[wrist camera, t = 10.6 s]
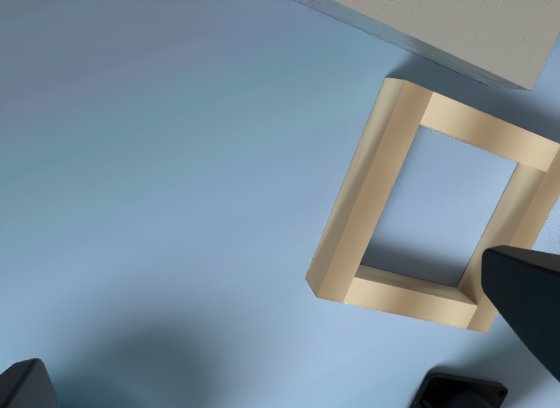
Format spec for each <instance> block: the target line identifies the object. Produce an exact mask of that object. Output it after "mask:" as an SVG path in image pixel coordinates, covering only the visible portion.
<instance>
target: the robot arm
mask: <svg viewBox="0 0 560 408" xmlns="http://www.w3.org/2000/svg"><path fill="white" fill-rule="evenodd" d="M481 287H482V290H483V292H484V293H485V295H486V296H487V297H488V299H489V300H490V301H491V303H492V304H493V305H494V306H495V308H496V309H497V310H498V312H499V313H500V314H501V315H502V317H503V318H504V319H505V321H506V322H507V323H508V324H509V326H510V327H511V328H512V329H513V331H514V332H515V333H516V335H517V336H518V337H519V338H520V340H521V341H522V342H523V343H524V345H525V346H526V347H527V348H528V349H529V350H530V352H531V353H532V354H533V355H534V356H535V357H536V358H537V359H538V360H539V361H540V362H541V363H542V364H543V366H544V367H545V368H546V369H547V370H548V371H549V372H550V373H551V374H552V375H553V376H554V377H555V378H556V379H557V380H558V381H559V382H560V255H556V254H551V253H546V252H540V251H535V250H529V249H524V248H518V247H513V246H508V245H498V246H494V247H490V248H486V249H485V250H484V251H483V253H482V260H481ZM507 393H508V390H507V388H506V387H505V386H504V385H503V384H501V383H495V382H489V381H483V380H477V379H471V378H465V377H459V376H453V375H447V374H441V373H430V374H428V375H427V376H426V378H425V379H424V381H423V383H422V385H421V387H420V389H419V391H418V393H417V395H416V397H415V399H414V401H413V403H412V405H411V407H410V408H500V406H501V404H502V403H503V401H504V399H505V397H506V395H507ZM56 407H57V400H56V394H55V391H54V388H53V386H52V383H51V380H50V378H49V375H48V373H47V370H46V368H45V365H44V363H43V362H42V360H41V359H39V358H33V359H29V360H25V361H21V362H17V363H14V364H13V365H12V366H10V367H9V368H8V369H7V370H6V371H4V372H3V373H2V374H1V375H0V408H56Z"/></svg>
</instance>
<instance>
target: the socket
mask: <svg viewBox="0 0 560 408" xmlns="http://www.w3.org/2000/svg"><path fill="white" fill-rule="evenodd" d="M295 1H297V2H300V3H302V4H304V5H306V6H309V7H311V8H313V9H315V10H318V11H320V12H322V13H325V14H327V15H329V16H331V17H334V18H336V19H338V20H340V21H343V22H345V23H347V24H349V25H352V26H354V27H356V28H358V29H361V30H363V31H365V32H367V33H370V34H372V35H374V36H377V37H379V38H381V39H383V40H386V41H388V42H390V43H392V44H395V45H397V46H399V47H401V48H404V49H406V50H408V51H410V52H413V53H415V54H417V55H420V56H422V57H424V58H426V59H429V60H431V61H433V62H435V63H438V64H440V65H442V66H444V67H447V68H449V69H451V70H453V71H456V72H458V73H460V74H462V75H465V76H467V77H469V78H472V79H474V80H476V81H478V82H481V83H483V84H485V85H487V86H495V87H503V88H512V89H520V90H528V91H532V89H533V87H534V85H535V83H536V81H537V79H538V77H539V75H540V72H541V70H542V68H543V66H544V64H545V62H546V60H547V58H548V56H549V54H550V52H551V50H552V48H553V46H554V43H555V41H556V39H557V37H558V35H559V33H560V0H295Z"/></svg>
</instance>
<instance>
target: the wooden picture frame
mask: <svg viewBox="0 0 560 408" xmlns="http://www.w3.org/2000/svg"><path fill="white" fill-rule="evenodd" d="M419 125H421V126H423V127H426V128H429V129H431V130H434V131H436V132H439V133H442V134H444V135H447V136H450V137H452V138H455V139H457V140H460V141H463V142H465V143H468V144H471V145H473V146H476V147H478V148H481V149H484V150H486V151H489V152H492V153H494V154H497V155H499V156H502V157H505V158H507V159H510V160H513V161H515V162H518V165H517V167H516V169H515V171H514V173H513V175H512V177H511V179H510V181H509V183H508V185H507V187H506V189H505V191H504V193H503V195H502V197H501V199H500V201H499V203H498V205H497V207H496V209H495V211H494V213H493V215H492V217H491V219H490V221H489V224H488V226H487V228H486V230H485V232H484V234H483V236H482V238H481V240H480V242H479V244H478V246H477V248H476V250H475V252H474V254H473V256H472V258H471V260H470V262H469V264H468V266H467V268H466V270H465V272H464V274H463V276H462V278H461V280H460V282H459V284H458V286H457V288H454V287H450V286H446V285H442V284H438V283H434V282H430V281H425V280H421V279H417V278H413V277H409V276H405V275H401V274H397V273H393V272H389V271H385V270H381V269H376V268H372V267H368V266H364V265H360V262H361V260H362V257H363V255H364V253H365V250H366V248H367V246H368V243H369V241H370V239H371V236H372V234H373V232H374V229H375V227H376V225H377V222H378V220H379V218H380V215H381V213H382V211H383V208H384V206H385V204H386V201H387V199H388V197H389V194H390V192H391V190H392V187H393V185H394V183H395V180H396V178H397V176H398V173H399V171H400V169H401V166H402V164H403V162H404V159H405V157H406V155H407V152H408V150H409V148H410V145H411V143H412V141H413V138H414V136H415V134H416V131H417V129H418V127H419ZM559 195H560V144H558V143H556V142H554V141H551V140H549V139H546V138H544V137H542V136H539V135H537V134H534V133H532V132H530V131H527V130H525V129H522V128H520V127H518V126H515V125H513V124H510V123H508V122H506V121H503V120H501V119H498V118H496V117H494V116H491V115H489V114H486V113H484V112H481V111H479V110H477V109H474V108H472V107H469V106H467V105H465V104H462V103H460V102H457V101H455V100H453V99H450V98H448V97H445V96H443V95H441V94H438V93H436V92H433V91H431V90H429V89H426V88H424V87H421V86H419V85H416V84H414V83H412V82H409V81H407V80H401V79H394V78H387V77H385V80H384V82H383V85H382V87H381V90H380V92H379V95H378V97H377V100H376V102H375V105H374V107H373V110H372V112H371V115H370V117H369V120H368V122H367V125H366V127H365V130H364V132H363V135H362V137H361V140H360V142H359V145H358V147H357V150H356V152H355V155H354V157H353V160H352V162H351V165H350V167H349V170H348V172H347V175H346V177H345V180H344V182H343V185H342V187H341V190H340V192H339V195H338V197H337V200H336V202H335V205H334V207H333V210H332V212H331V215H330V217H329V220H328V222H327V225H326V227H325V230H324V232H323V235H322V237H321V240H320V242H319V245H318V247H317V250H316V252H315V255H314V257H313V260H312V262H311V265H310V267H309V270H308V272H307V275H306V277H305V279H306V281H307V282H308V284H309V286H310V287H311V289H312V291H313V292H314V294H315V296H316V297H317V298H321V299H326V300H331V301H336V302H341V303H345V304H350V305H355V306H360V307H364V308H369V309H374V310H379V311H383V312H388V313H393V314H398V315H403V316H407V317H412V318H417V319H422V320H426V321H431V322H436V323H441V324H445V325H450V326H455V327H460V328H464V329H469V330H474V331H479V332H484V333H487V331H488V330H489V328H490V326H491V324H492V322H493V320H494V318H495V316H496V314H497V312H498V310H497V309H496V308H495V306H494V305H493V304H492V303H491V301H490V300H489V299H488V297H487V296H486V295H485V293H484V292H483V290H482V287H481V260H482V253H483V251H484V250H485V249H486V248H490V247H494V246H498V245H508V246H513V247H518V248H524V249H529V250H531V248H532V246H533V244H534V242H535V240H536V239H537V237H538V235H539V233H540V231H541V229H542V227H543V225H544V223H545V222H546V220H547V218H548V216H549V214H550V212H551V210H552V208H553V206H554V204H555V203H556V201H557V199H558V197H559Z"/></svg>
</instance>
